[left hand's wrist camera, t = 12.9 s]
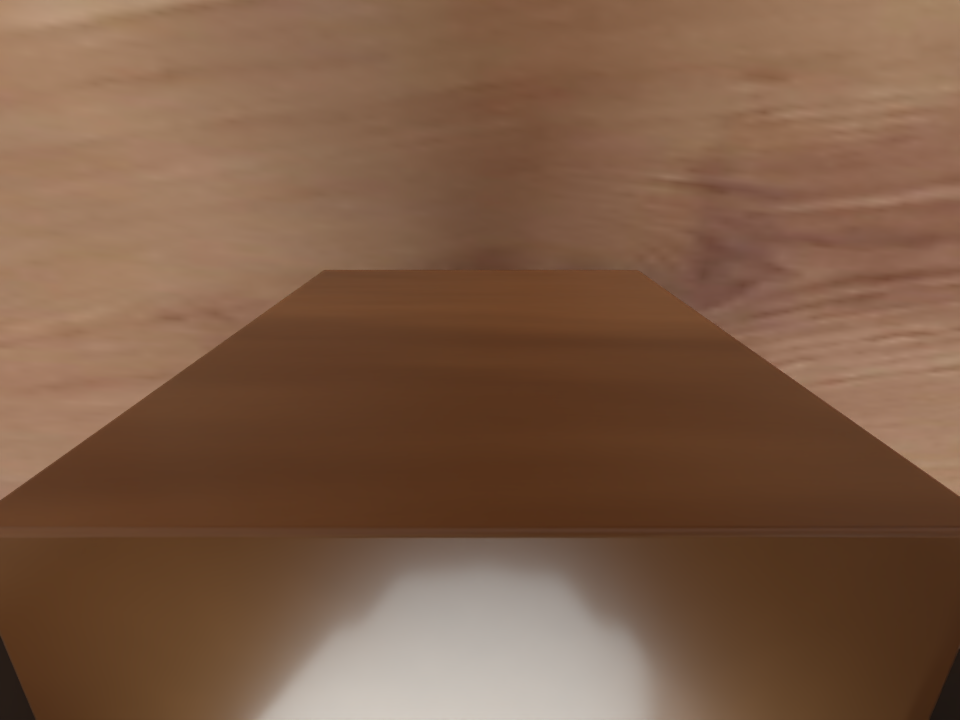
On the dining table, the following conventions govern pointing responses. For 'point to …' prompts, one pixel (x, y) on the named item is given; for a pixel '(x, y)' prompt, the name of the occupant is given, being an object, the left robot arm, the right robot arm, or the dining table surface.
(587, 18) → the dining table surface
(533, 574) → the box
